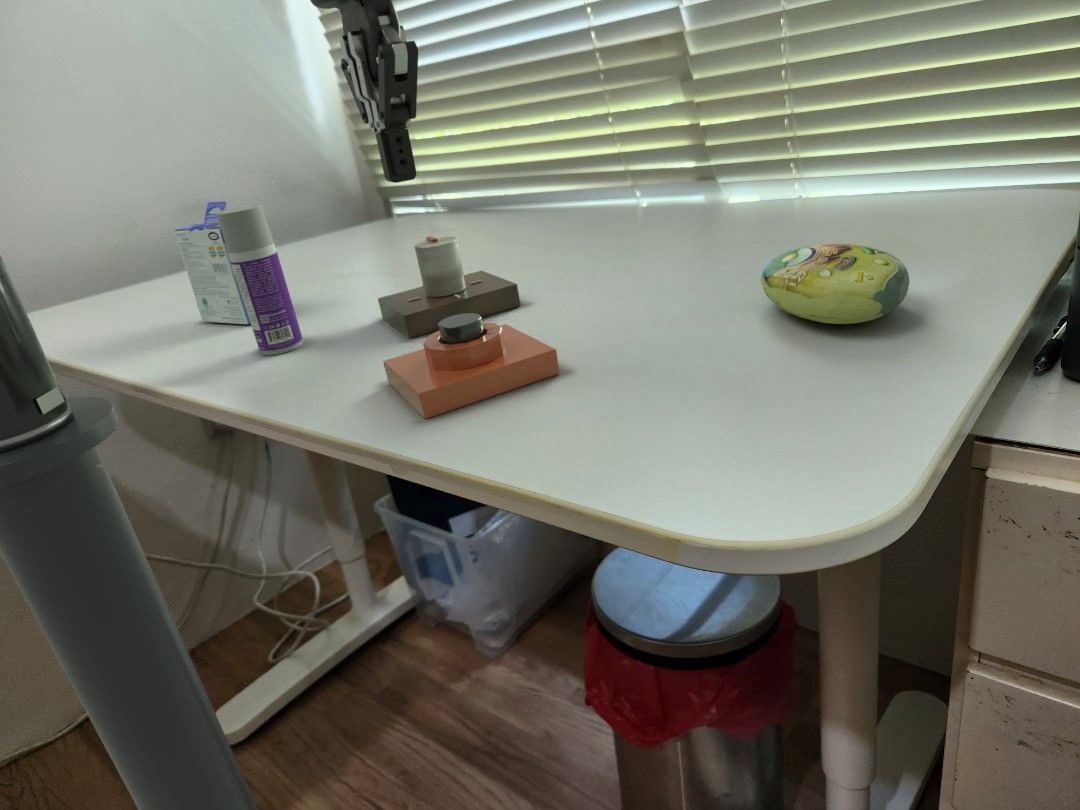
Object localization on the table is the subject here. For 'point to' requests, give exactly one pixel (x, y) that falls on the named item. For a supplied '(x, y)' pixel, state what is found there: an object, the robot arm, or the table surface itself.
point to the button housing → (469, 369)
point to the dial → (440, 266)
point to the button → (461, 328)
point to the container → (260, 279)
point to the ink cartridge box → (211, 270)
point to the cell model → (836, 283)
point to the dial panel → (448, 304)
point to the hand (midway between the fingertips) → (401, 180)
